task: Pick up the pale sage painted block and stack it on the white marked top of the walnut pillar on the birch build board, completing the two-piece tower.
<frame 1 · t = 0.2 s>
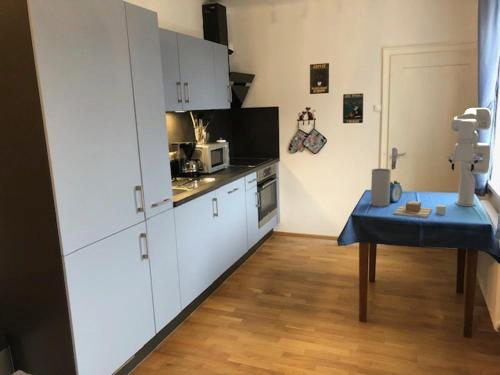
hand: (462, 170, 240), 31 cm above the table, tool pointing down, fingers open, 9 cm apart
alarm clock: (392, 201, 296), on the table
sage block: (440, 213, 264), on the table
cylinder vase: (379, 205, 288), on the table
build board: (413, 212, 268), on the table
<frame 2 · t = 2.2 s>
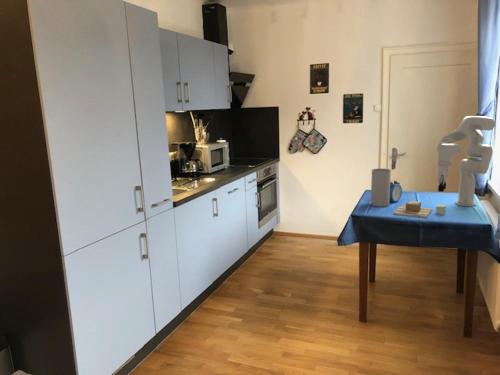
hand: (441, 190, 260), 15 cm above the table, tool pointing down, fingers open, 9 cm apart
nothing on the table moved.
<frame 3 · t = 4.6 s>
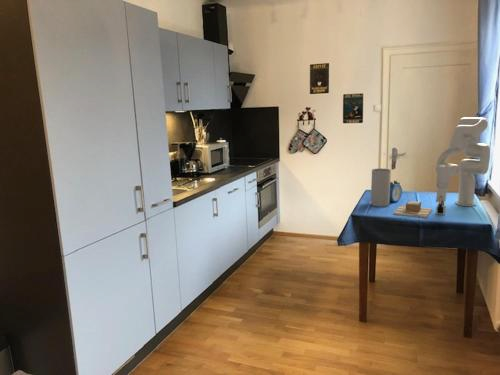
hand: (440, 211, 263), 1 cm above the table, tool pointing down, fingers closed on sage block, 5 cm apart
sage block: (440, 213, 264), on the table, touching gripper
everything else where it was.
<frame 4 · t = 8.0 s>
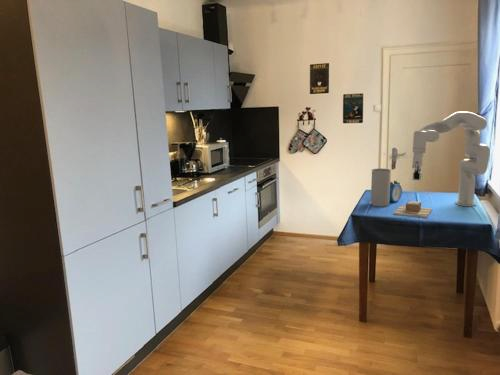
hand: (417, 178, 263), 23 cm above the table, tool pointing down, fingers closed on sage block, 4 cm apart
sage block: (417, 179, 263), point 22 cm above the table, touching gripper
everything else where it was.
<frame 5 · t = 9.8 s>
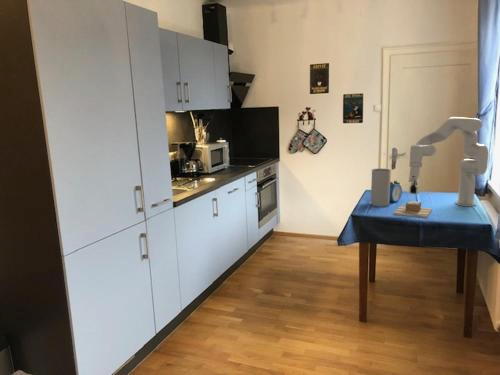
hand: (414, 191, 265), 14 cm above the table, tool pointing down, fingers closed on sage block, 4 cm apart
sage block: (413, 193, 265), point 13 cm above the table, touching gripper
everything else where it was.
when the fingers open (9 cm above the table, at t = 11.5 s): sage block drops 1 cm, resting on build board.
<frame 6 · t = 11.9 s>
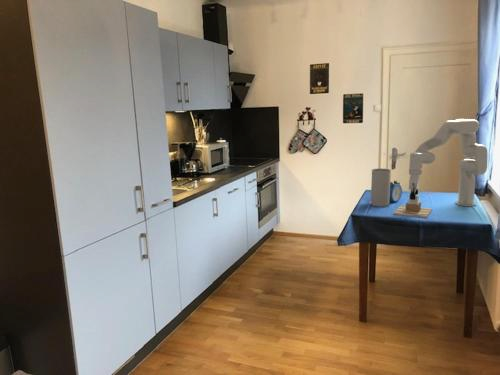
hand: (413, 197, 266), 10 cm above the table, tool pointing down, fingers open, 8 cm apart
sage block: (413, 202, 266), point 6 cm above the table, touching build board
everything else where it was.
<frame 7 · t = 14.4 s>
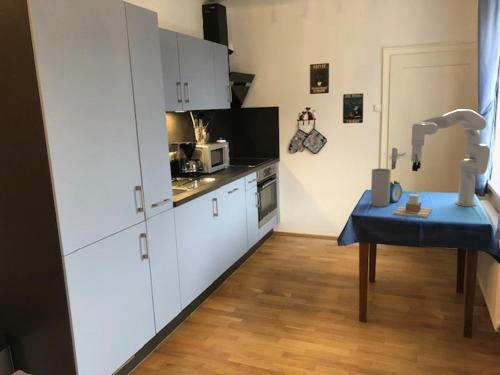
hand: (416, 169, 262), 28 cm above the table, tool pointing down, fingers open, 9 cm apart
nothing on the table moved.
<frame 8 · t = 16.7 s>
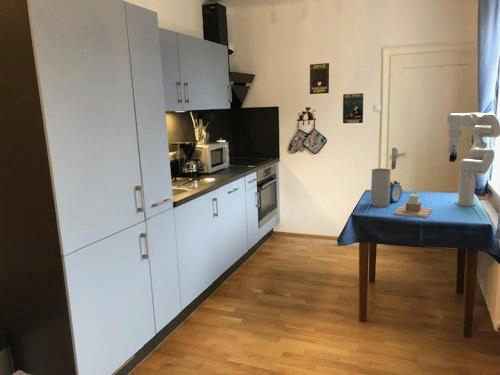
hand: (452, 160, 262), 33 cm above the table, tool pointing down, fingers open, 9 cm apart
nothing on the table moved.
at the end: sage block 0.0 cm off-centre on the build board, point 6.5 cm above the build board's base; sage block tilted 0°; the gripper is holding nothing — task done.
